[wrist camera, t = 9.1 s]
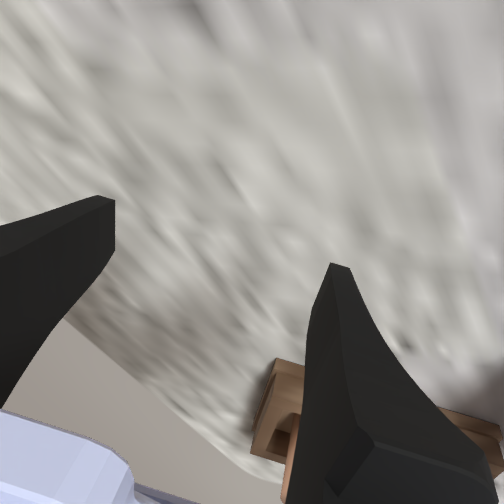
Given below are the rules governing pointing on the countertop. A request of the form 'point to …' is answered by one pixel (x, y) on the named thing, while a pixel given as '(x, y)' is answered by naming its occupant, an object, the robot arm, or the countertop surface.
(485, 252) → the countertop surface
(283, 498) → the clay rod
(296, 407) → the rack
